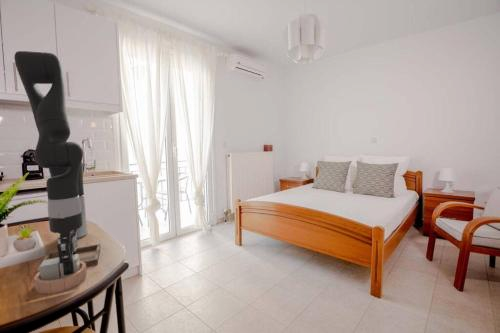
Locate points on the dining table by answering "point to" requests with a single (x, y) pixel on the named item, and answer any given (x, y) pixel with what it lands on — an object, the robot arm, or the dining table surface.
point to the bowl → (60, 281)
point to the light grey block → (50, 269)
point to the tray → (80, 255)
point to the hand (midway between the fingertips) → (70, 268)
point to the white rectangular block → (75, 264)
